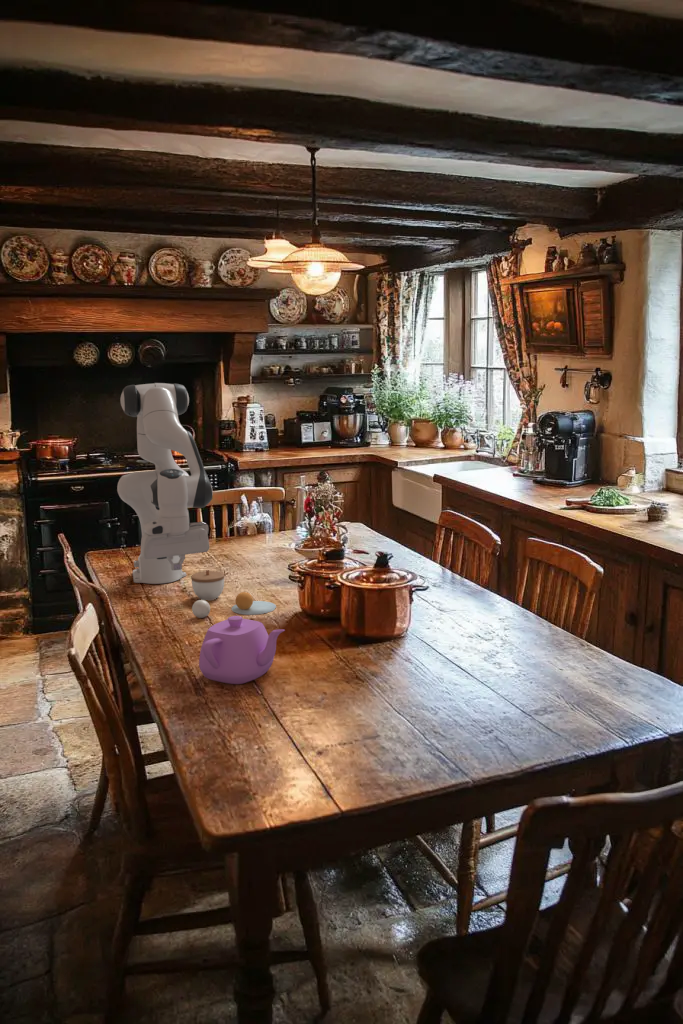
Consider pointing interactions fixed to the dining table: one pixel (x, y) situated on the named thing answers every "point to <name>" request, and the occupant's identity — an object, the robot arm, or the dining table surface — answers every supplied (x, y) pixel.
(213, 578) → the lidded jar
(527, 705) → the dining table surface
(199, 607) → the cue ball
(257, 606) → the gray disc
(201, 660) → the teapot
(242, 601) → the object ball
